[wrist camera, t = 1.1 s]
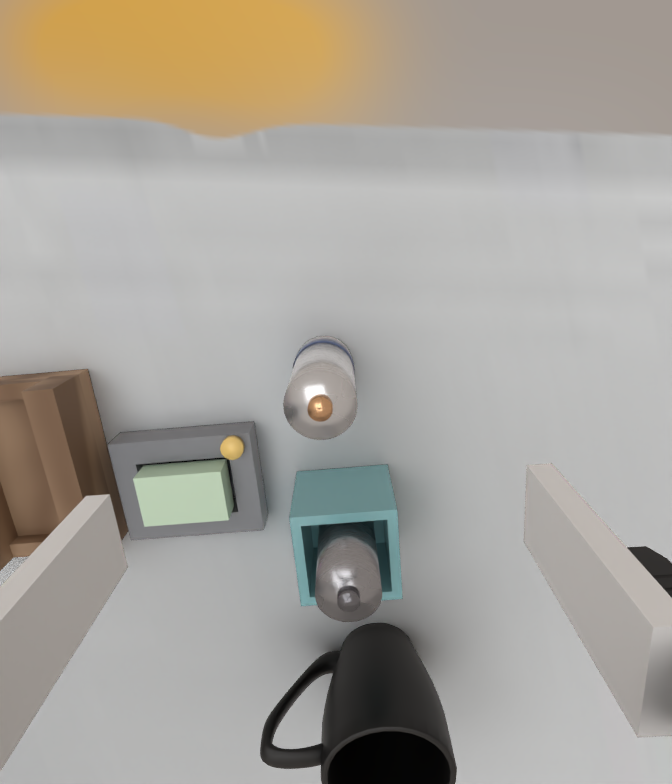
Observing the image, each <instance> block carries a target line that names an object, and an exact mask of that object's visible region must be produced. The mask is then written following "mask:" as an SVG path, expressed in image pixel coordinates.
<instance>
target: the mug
mask: <svg viewBox="0 0 672 784" xmlns="http://www.w3.org/2000/svg"><path fill="white" fill-rule="evenodd" d="M328 673H333V676H332V679H331V683H330V686H329V690H328V694H327V699H326V703H325V709H324V715H323V722H322V743H321V744H318V745H315V746H311V747H306V748H300V749H281V748H278V747H276V746H274V745H273V744H272V741H273V737H274V734H275V732H276V729H277V727H278V725H279V724H280V722H281V720H282V719H283V717H284V716H285V714H286V713H287V711H288V710H289V709H290V707H291V706H292V705H293V703H294V702H295V701H296V700H297V698H298V697H299V696H300V695H301V694H302V692H303V691H304V690H305V689H306V688H307V687H308V686H309V685H310V684H311V683H312V682H313V681H314V680H316V679H317V678H319V677H320V676H322V675H324V674H328ZM260 755H261V759H262V760H263V762H265V763H266V764H267V765H269V766H272V767H276V768H284V769H295V768H306V767H313V766H318V765H321V781H322V784H455V782H456V772H457V767H456V763H455V758H454V754H453V749H452V745H451V740H450V736H449V731H448V727H447V722H446V718H445V714H444V710H443V708H442V705H441V702H440V699H439V696H438V694H437V691H436V689H435V687H434V684H433V682H432V680H431V678H430V676H429V674H428V672H427V670H426V668H425V667H424V665H423V663H422V661H421V659H420V658H419V656H418V654H417V652H416V651H415V649H414V647H413V645H412V643H411V641H410V639H409V638H408V636H407V635H406V634H405V633H404V632H403V631H401V630H400V629H398V628H397V627H394V626H392V625H389V624H384V623H372V624H367V625H364V626H361V627H359V628H357V629H355V630H354V631H352V632H351V633H350V634H349V635H348V636H347V637H346V639H345V641H344V642H343V645H342V649H341V652H339V651H332V652H328V653H325V654H324V655H322V656H320V657H319V658H318V659H317V660H316V661H314V662H313V663H312V664H311V665H310V666H309V668H308V669H307V670H306V671H305V672H304V673H303V674H302V675H301V676H300V678H299V679H298V680H297V681H296V682H295V683H294V685H293V686H292V687H291V688H290V689H289V690H288V692H287V693H286V694H285V695H284V697H283V698H282V699H281V700H280V701H279V703H278V704H277V705H276V707H275V708H274V709H273V711H272V712H271V713H270V715H269V717H268V718H267V720H266V723H265V725H264V729H263V733H262V740H261V748H260Z"/></svg>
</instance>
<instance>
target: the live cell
mask: <svg viewBox="0 0 672 784" xmlns="http://www.w3.org/2000/svg"><path fill="white" fill-rule="evenodd" d="M283 406H284V413H285V416H286V418H287V420H288V422H289V424H290V425H291V426H292V427H293V429H294V430H296V431H297V432H298V433H300V434H301V435H303V436H305V437H308V438H311V439H316V440H326V439H331V438H334V437H337V436H339V435H340V434H342V433H343V432H345V431H346V430H347V429H348V428H349V427H350V426H351V424H352V423H353V421H354V419H355V416H356V413H357V395H356V387H355V378H354V363H353V359H352V356H351V353H350V351H349V349H348V348H347V347H346V345H345V344H344V343H343V342H341V341H340V340H338V339H336V338H333V337H330V336H319V337H315V338H312V339H310V340H309V341H307V342H306V343H305V344H304V345H303V346H302V347H301V349H300V350H299V352H298V354H297V356H296V358H295V361H294V365H293V371H292V374H291V377H290V380H289V383H288V387H287V390H286V393H285V396H284V403H283Z"/></svg>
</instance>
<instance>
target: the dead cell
mask: <svg viewBox="0 0 672 784" xmlns="http://www.w3.org/2000/svg"><path fill="white" fill-rule="evenodd" d="M315 599H316V603H317V605H318V607H319V608H320V610H321V611H322V612H323V613H324V614H326V615H327V616H329V617H330V618H332V619H335V620H338V621H342V622H354V621H359V620H362V619H365V618H367V617H368V616H370V615H371V614H373V613H374V612H375V611H376V610H377V608H378V607H379V605H380V603H381V600H382V586H381V578H380V570H379V562H378V554H377V546H376V538H375V530H374V522H373V521H363V522H350V523H336V524H323V525H319V535H318V551H317V568H316V584H315Z"/></svg>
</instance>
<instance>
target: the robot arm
mask: <svg viewBox="0 0 672 784" xmlns="http://www.w3.org/2000/svg"><path fill="white" fill-rule="evenodd" d="M524 543H525V545H526V546H527V548H528V550H529V551H530V553H531V555H532V557H533V558H534V560H535V562H536V563H537V565H538V567H539V569H540V570H541V572H542V574H543V575H544V577H545V579H546V581H547V582H548V584H549V586H550V588H551V589H552V591H553V593H554V594H555V596H556V598H557V600H558V601H559V603H560V605H561V606H562V608H563V610H564V612H565V613H566V615H567V617H568V618H569V620H570V622H571V624H572V625H573V627H574V629H575V630H576V632H577V634H578V636H579V637H580V639H581V641H582V643H583V644H584V646H585V648H586V649H587V651H588V653H589V655H590V656H591V658H592V660H593V661H594V663H595V665H596V667H597V668H598V670H599V672H600V673H601V675H602V677H603V679H604V680H605V682H606V684H607V685H608V687H609V689H610V691H611V692H612V694H613V696H614V698H615V699H616V701H617V703H618V704H619V706H620V708H621V710H622V711H623V713H624V715H625V716H626V718H627V720H628V722H629V723H630V725H631V727H632V728H633V730H634V732H635V734H636V735H637V737H657V736H672V563H671V562H670V561H669V560H668V559H667V558H665V557H663V556H662V555H660V554H658V553H656V552H655V551H653V550H651V549H650V548H648V547H646V546H644V547H628V548H627V547H626V546H625V545H624V544H623V543H622V542H621V540H620V539H619V538H618V537H617V536H616V535H615V534H614V533H613V532H612V530H611V529H610V528H609V527H608V526H607V525H606V524H605V523H604V521H603V520H602V519H601V518H600V517H599V516H598V515H597V514H596V512H595V511H594V510H593V509H592V508H591V507H590V506H589V505H588V503H587V502H586V501H585V500H584V499H583V498H582V497H581V496H580V495H579V493H578V492H577V491H576V490H575V489H574V488H573V487H572V486H571V484H570V483H569V482H568V481H567V480H566V479H565V478H564V477H563V475H562V474H561V473H560V472H559V471H558V470H557V469H556V468H555V466H554V465H553V464H552V463H550V464H535V465H527V469H526V495H525V521H524ZM127 568H128V566H127V562H126V558H125V554H124V550H123V546H122V542H121V538H120V534H119V530H118V526H117V522H116V518H115V514H114V510H113V506H112V502H111V498H110V494H107V495H93V496H86V497H85V498H84V499H83V500H82V501H81V502H80V503H79V504H78V505H77V506H76V507H75V508H74V509H73V510H72V511H71V512H70V514H69V515H68V516H67V517H66V518H65V519H64V520H63V521H62V522H61V523H60V524H59V525H58V526H57V527H56V528H55V529H54V530H53V532H52V533H51V534H50V535H49V536H48V537H47V538H46V539H45V540H44V541H43V542H42V543H41V544H40V545H39V546H38V547H37V548H36V550H35V551H34V552H33V553H32V554H31V555H30V556H29V557H28V558H27V559H26V560H25V561H24V562H23V563H22V564H21V565H20V566H19V568H18V569H17V570H16V571H15V572H14V573H13V574H12V575H11V576H10V577H9V578H8V579H7V580H6V581H5V582H4V583H3V584H2V586H1V587H0V770H2V768H3V767H4V765H5V763H6V762H7V760H8V759H9V757H10V755H11V754H12V752H13V751H14V749H15V747H16V746H17V744H18V743H19V741H20V739H21V738H22V736H23V735H24V733H25V731H26V730H27V728H28V727H29V725H30V723H31V722H32V720H33V719H34V717H35V715H36V714H37V712H38V711H39V709H40V707H41V706H42V704H43V702H44V701H45V699H46V698H47V696H48V694H49V693H50V691H51V690H52V688H53V686H54V685H55V683H56V682H57V680H58V678H59V677H60V675H61V674H62V672H63V670H64V669H65V667H66V666H67V664H68V662H69V661H70V659H71V658H72V656H73V654H74V653H75V651H76V650H77V648H78V646H79V645H80V643H81V642H82V640H83V638H84V637H85V635H86V634H87V632H88V630H89V629H90V627H91V626H92V624H93V622H94V621H95V619H96V618H97V616H98V614H99V613H100V611H101V610H102V608H103V606H104V605H105V603H106V602H107V600H108V598H109V597H110V595H111V594H112V592H113V590H114V589H115V587H116V585H117V584H118V582H119V581H120V579H121V577H122V576H123V574H124V573H125V571H126V569H127Z"/></svg>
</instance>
